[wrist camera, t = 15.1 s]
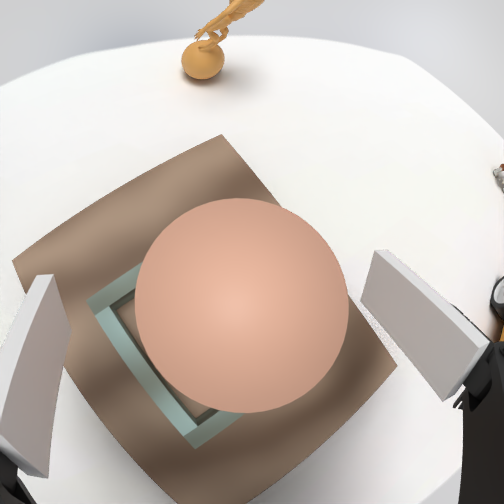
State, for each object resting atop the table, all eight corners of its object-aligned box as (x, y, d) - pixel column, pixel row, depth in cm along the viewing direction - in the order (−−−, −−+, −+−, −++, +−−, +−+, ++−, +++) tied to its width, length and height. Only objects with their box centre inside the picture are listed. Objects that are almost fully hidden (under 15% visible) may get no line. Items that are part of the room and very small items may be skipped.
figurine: (205, 49, 27) (226, -45, 16) (255, 70, 28) (290, -26, 17) (158, 90, 24) (164, -25, 13) (214, 115, 25) (243, -4, 14)
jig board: (21, 266, 17) (-2, 251, 14) (218, 145, 24) (225, 117, 21) (204, 517, 15) (209, 542, 12) (385, 365, 21) (414, 365, 18)
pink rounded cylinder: (148, 318, 17) (93, 271, 6) (215, 272, 19) (266, 166, 8) (198, 386, 17) (229, 454, 6) (263, 337, 19) (381, 319, 7)
